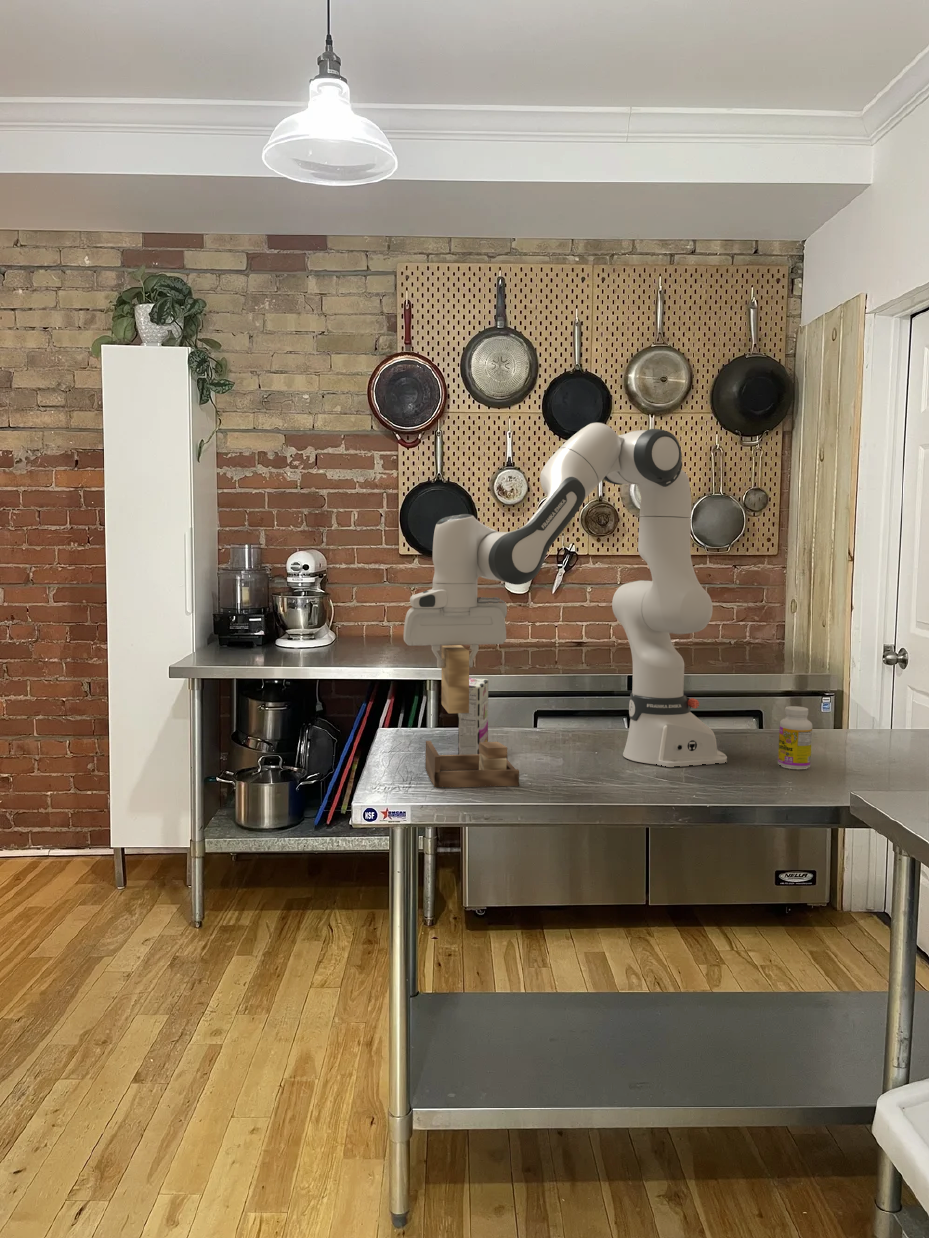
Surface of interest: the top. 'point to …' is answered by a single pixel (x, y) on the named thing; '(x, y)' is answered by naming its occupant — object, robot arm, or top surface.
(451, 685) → the light brown wooden block
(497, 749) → the offcut top
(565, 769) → the top surface
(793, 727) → the supplement bottle
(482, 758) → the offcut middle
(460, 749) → the candy bar box
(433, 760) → the rack
